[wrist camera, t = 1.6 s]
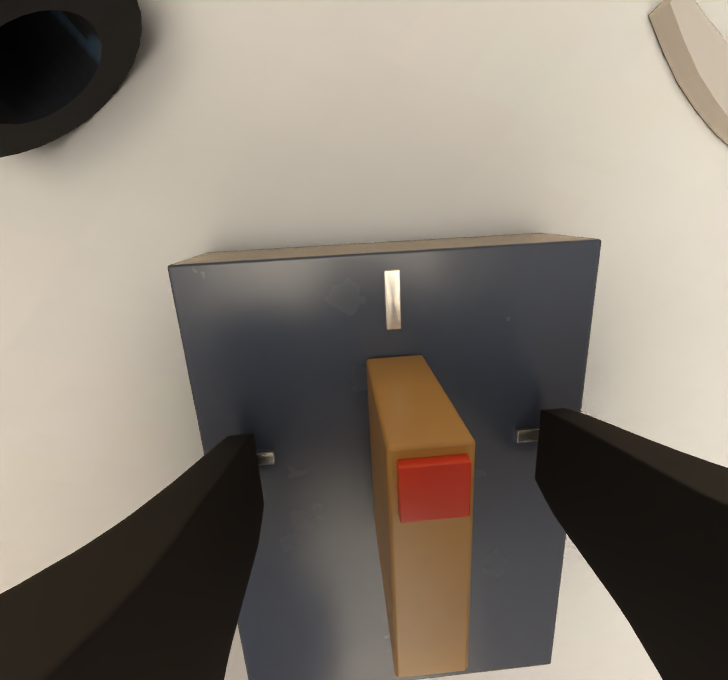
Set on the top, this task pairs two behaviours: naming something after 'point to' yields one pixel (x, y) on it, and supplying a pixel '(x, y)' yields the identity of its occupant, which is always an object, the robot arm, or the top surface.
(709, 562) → the robot arm
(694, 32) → the pliers
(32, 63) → the pipe connector
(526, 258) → the dark slotted flat block
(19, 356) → the top surface
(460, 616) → the tan upright tile
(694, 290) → the top surface
